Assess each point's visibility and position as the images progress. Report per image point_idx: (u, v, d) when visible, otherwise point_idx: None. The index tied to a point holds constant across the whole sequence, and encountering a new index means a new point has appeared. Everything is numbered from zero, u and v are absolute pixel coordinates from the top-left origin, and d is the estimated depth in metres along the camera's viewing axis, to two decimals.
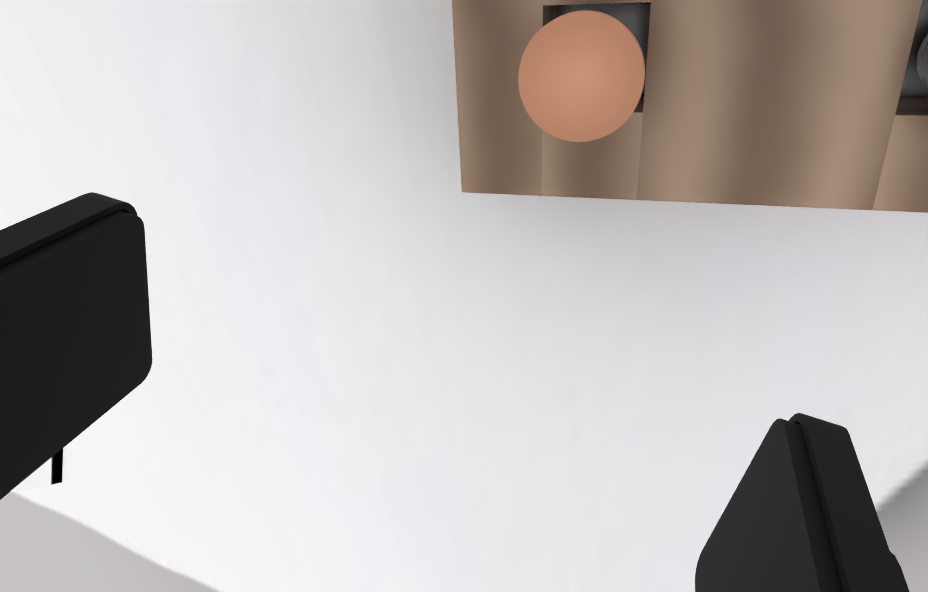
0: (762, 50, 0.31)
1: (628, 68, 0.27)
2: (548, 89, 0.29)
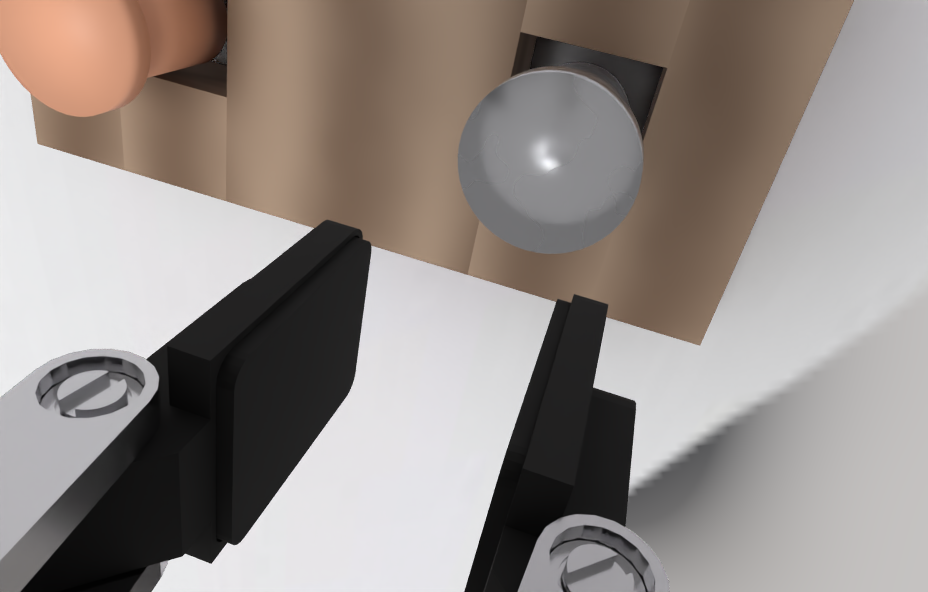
0: (351, 55, 0.25)
1: (110, 33, 0.21)
2: (23, 36, 0.22)
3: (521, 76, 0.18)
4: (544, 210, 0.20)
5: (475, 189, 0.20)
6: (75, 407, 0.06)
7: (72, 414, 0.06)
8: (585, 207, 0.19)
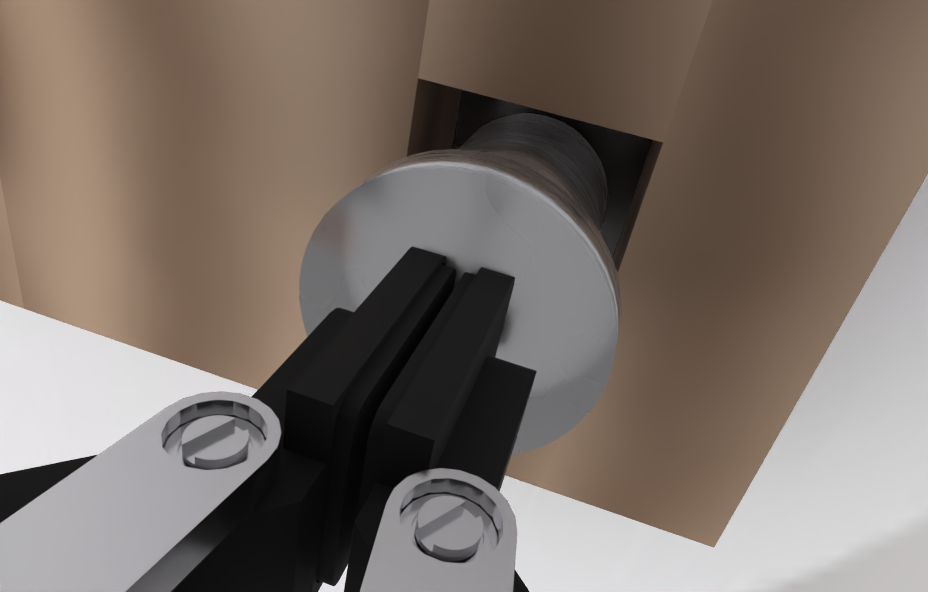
0: (162, 109, 0.16)
1: None
2: None
3: (392, 173, 0.10)
4: None
5: None
6: (196, 454, 0.06)
7: (191, 462, 0.06)
8: None
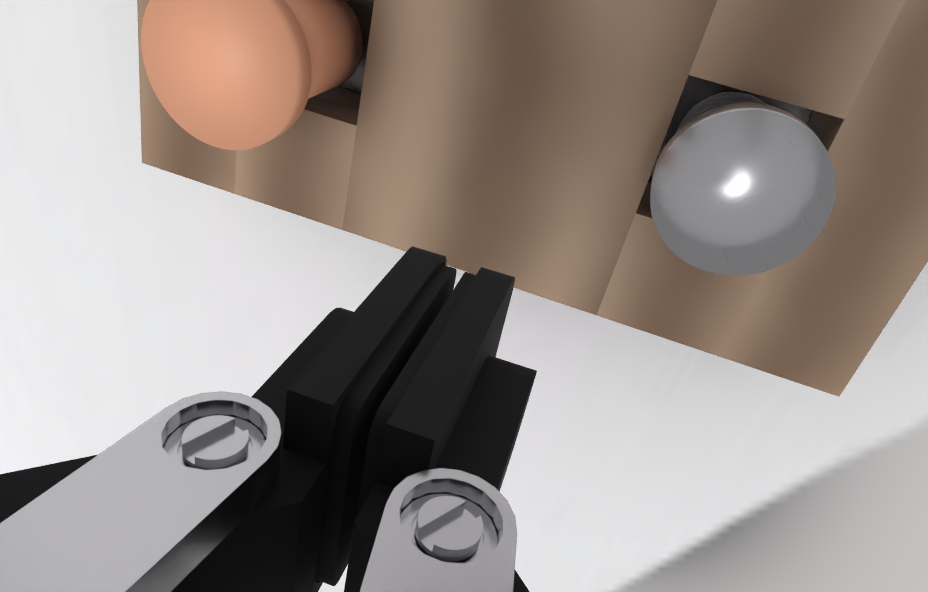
0: (499, 89, 0.24)
1: (276, 67, 0.20)
2: (178, 65, 0.21)
3: (728, 112, 0.19)
4: (730, 235, 0.21)
5: (664, 213, 0.21)
6: (196, 454, 0.06)
7: (191, 462, 0.06)
8: (772, 234, 0.21)
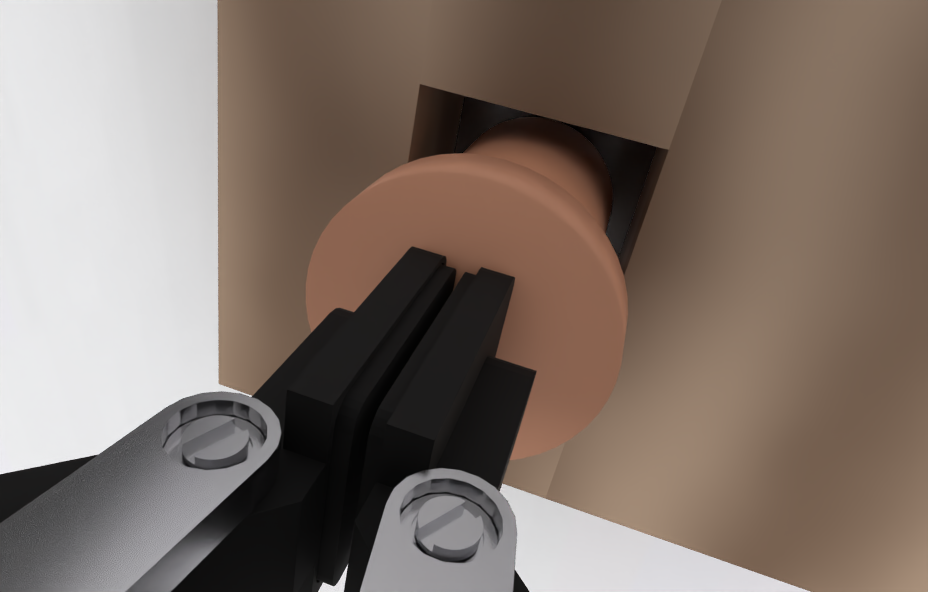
0: (889, 324, 0.13)
1: (582, 347, 0.10)
2: None
3: None
4: None
5: None
6: (196, 454, 0.06)
7: (191, 462, 0.06)
8: None
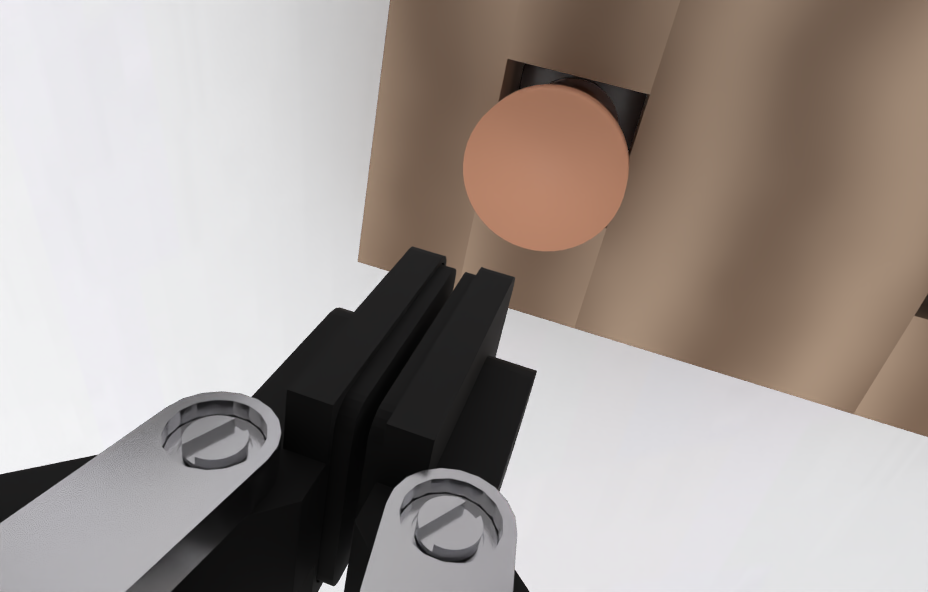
0: (775, 194, 0.23)
1: (607, 178, 0.21)
2: (500, 175, 0.22)
3: None
4: None
5: None
6: (196, 454, 0.06)
7: (191, 462, 0.06)
8: None
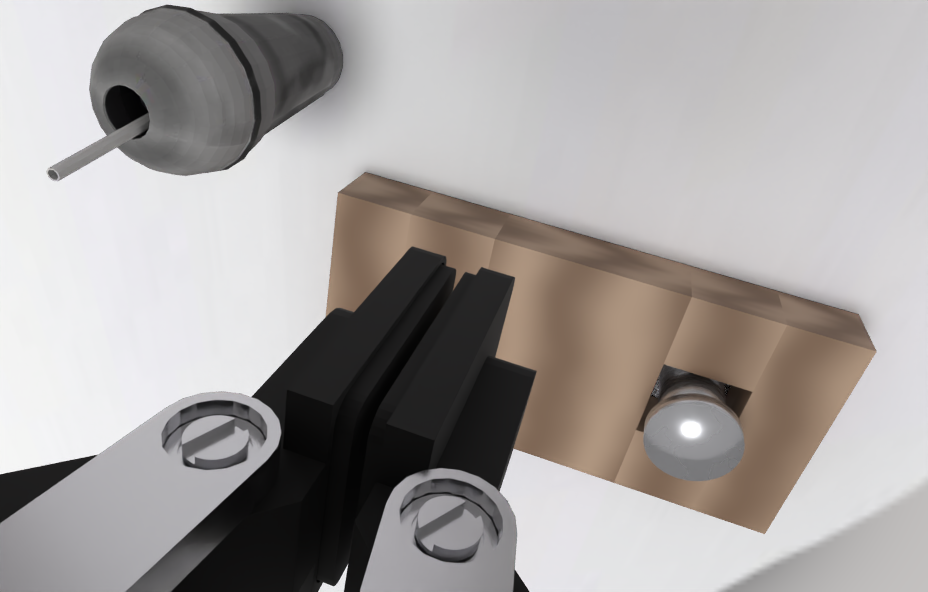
0: (552, 362, 0.40)
1: None
2: None
3: (683, 404, 0.36)
4: (689, 461, 0.37)
5: (651, 448, 0.38)
6: (196, 454, 0.06)
7: (191, 462, 0.06)
8: (712, 462, 0.37)
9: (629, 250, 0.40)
